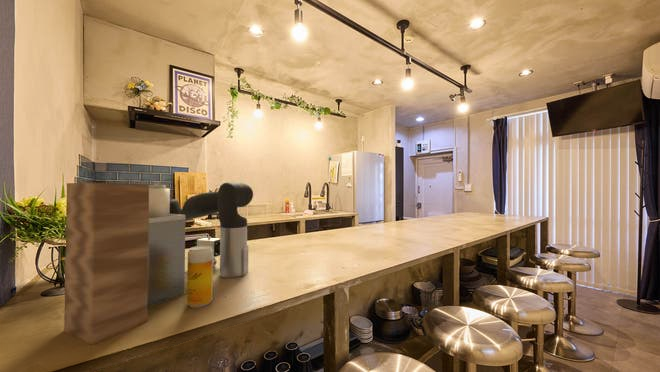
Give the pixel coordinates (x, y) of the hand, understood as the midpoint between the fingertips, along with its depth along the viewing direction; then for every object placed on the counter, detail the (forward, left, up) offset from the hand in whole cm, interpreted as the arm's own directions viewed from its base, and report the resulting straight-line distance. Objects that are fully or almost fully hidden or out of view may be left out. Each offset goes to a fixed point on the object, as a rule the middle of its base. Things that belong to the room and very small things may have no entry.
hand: (118, 203), depth 80 cm
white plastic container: (-11, +6, -4) cm, 13 cm away
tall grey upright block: (-16, +9, -26) cm, 32 cm away
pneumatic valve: (-20, -20, -27) cm, 39 cm away
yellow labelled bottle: (-30, +14, -27) cm, 43 cm away
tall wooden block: (-14, +24, -26) cm, 38 cm away
